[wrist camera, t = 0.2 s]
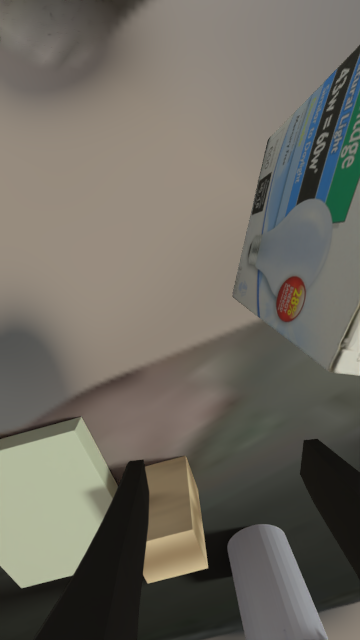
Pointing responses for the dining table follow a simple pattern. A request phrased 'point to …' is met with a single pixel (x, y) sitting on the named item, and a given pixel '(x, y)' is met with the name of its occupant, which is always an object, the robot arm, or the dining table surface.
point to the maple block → (173, 522)
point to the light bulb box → (310, 227)
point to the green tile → (50, 500)
